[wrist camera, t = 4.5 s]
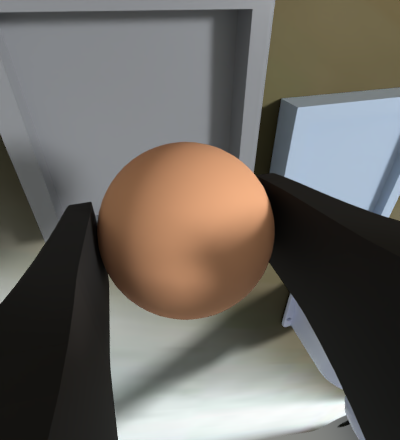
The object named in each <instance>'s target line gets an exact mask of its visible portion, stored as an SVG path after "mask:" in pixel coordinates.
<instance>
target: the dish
mask: <svg viewBox="0 0 400 440" xmlns="http://www.w3.org/2000/svg"><path fill="white" fill-rule="evenodd" d="M270 173H275V174H278V175H281V176H284V177H286V178H289V179H291V180H294V181H296V182H299V183H301V184H303V185H306V186H308V187H310V188H313V189H315V190H317V191H320V192H322V193H324V194H327V195H329V196H331V197H334V198H336V199H339V200H341V201H344V202H346V203H349V204H351V205H354V206H357V207H359V208H362V209H365V210H367V211H370V212H373V213H376V214H379V215H382V216H385V217H388V218H389V216H390V214H391V212H392V210H393V208H394V205H395V203H396V201H397V199H398V197H399V195H400V87H399V88H389V89H378V90H367V91H357V92H346V93H335V94H325V95H314V96H303V97H293V98H282V99H281V104H280V110H279V117H278V123H277V129H276V135H275V142H274V148H273V154H272V160H271V167H270Z"/></svg>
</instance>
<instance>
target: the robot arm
mask: <svg viewBox="0 0 400 440" xmlns="http://www.w3.org/2000/svg"><path fill="white" fill-rule="evenodd" d="M255 176H256V177H257V178H258V180H259V181H260V183H261V184H262V186H263V187H264V189H265V192H266V194H267V196H268V198H269V201H270V204H271V208H272V212H273V216H274V226H275V237H274V245H273V250H272V254H271V258H270V260H269V263H270V264H271V266H272V267H273V269H274V270H275V271H276V273H277V274H278V276H279V277H280V279H281V280H282V282H283V283H284V284H285V286H286V287H287V289H288V290H289V292H290V296H289V299H288V303H287V306H286V310H285V313H284V317H283V320H282V325H283V327H288V326H292V328H293V329H294V331H295V332H296V334H297V336H298V337H299V339H300V340H301V342H302V344H303V345H304V347H305V348H306V350H307V352H308V353H309V355H310V357H311V358H312V360H313V361H314V363H315V365H316V366H317V368H318V369H319V371H320V372H321V374H322V375H323V376H324V377H325V378H326V379H327V380H328V381H329V382H331V383H332V384H334V385H335V386H337V387H339V388H341V389H343V390H344V393H345V395H346V396H345V412H346V415H347V418H348V420H349V422H350V424H351V426H352V428H353V430H354V432H355V433H356V435H357V437H358V439H359V440H400V221H398V220H394V219H391V218H388V217H385V216H382V215H379V214H376V213H373V212H370V211H367V210H365V209H362V208H359V207H357V206H354V205H351V204H349V203H346V202H344V201H341V200H339V199H336V198H334V197H331V196H329V195H327V194H324V193H322V192H320V191H317V190H315V189H313V188H310V187H308V186H306V185H303V184H301V183H299V182H296V181H294V180H291V179H289V178H286V177H284V176H281V175H278V174H275V173H268V174H262V175H255ZM0 440H118V436H117V427H116V418H115V409H114V400H113V390H112V381H111V371H110V330H109V279H108V273H107V271H106V269H105V266H104V264H103V261H102V259H101V256H100V251H99V247H98V238H97V221H96V217H95V213H94V209H93V206H92V202H86V203H79V204H73V205H69V206H68V207H67V208H66V209H65V211H64V213H63V215H62V216H61V218H60V220H59V222H58V223H57V225H56V227H55V229H54V230H53V232H52V233H51V235H50V237H49V238H48V240H47V241H46V243H45V245H44V246H43V248H42V249H41V251H40V252H39V254H38V255H37V257H36V258H35V260H34V261H33V263H32V264H31V265H30V267H29V268H28V269H27V271H26V272H25V273H24V275H23V276H22V277H21V279H20V280H19V281H18V283H17V284H16V286H15V287H14V288H13V289H12V291H11V292H10V293H9V294H8V295H7V297H6V298H5V299H4V300H3V302H2V303H1V304H0Z"/></svg>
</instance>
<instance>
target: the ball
mask: <svg viewBox="0 0 400 440" xmlns="http://www.w3.org/2000/svg"><path fill="white" fill-rule="evenodd" d="M274 237H275V226H274V216H273V212H272V208H271V204H270V201H269V198H268V196H267V194H266V192H265V189H264V187H263V186H262V184H261V183H260V181H259V180H258V178H257V177H256V176H255V174H254V173H253V172H252V171H251V170H250V169H249V168H248V167H247V166H246V165H245V164H244V163H243V162H242V161H240V160H239V159H238V158H236V157H235V156H233V155H231V154H230V153H228V152H226V151H224V150H222V149H220V148H217V147H214V146H211V145H207V144H201V143H196V142H176V143H170V144H165V145H161V146H158V147H155V148H152V149H150V150H148V151H146V152H144V153H142V154H140V155H139V156H137V157H136V158H134V159H133V160H131V161H130V162H129V163H128V164H127V165H126V166H124V167H123V169H122V170H121V171H120V172H119V173H118V174H117V175H116V177H115V178H114V180H113V181H112V183H111V184H110V185H109V187H108V189H107V191H106V193H105V195H104V197H103V200H102V203H101V207H100V210H99V215H98V222H97V238H98V247H99V251H100V256H101V259H102V261H103V264H104V266H105V269H106V271H107V273H108V274H109V276H110V278H111V279H112V281H113V282H114V284H115V285H116V286H117V288H118V289H119V290H120V291H121V292H122V293H123V294H124V295H125V296H126V297H127V298H128V299H130V300H131V301H132V302H134V303H135V304H136V305H138V306H139V307H141V308H143V309H145V310H147V311H149V312H151V313H154V314H156V315H159V316H162V317H167V318H173V319H181V320H190V319H199V318H204V317H209V316H212V315H215V314H218V313H220V312H223V311H225V310H227V309H229V308H230V307H232V306H234V305H235V304H236V303H238V302H239V301H241V300H242V299H243V298H244V297H246V296H247V295H248V294H249V293H250V292H251V291H252V289H253V288H254V287H255V286H256V284H257V283H258V282H259V280H260V279H261V277H262V276H263V274H264V272H265V270H266V268H267V265H268V263H269V260H270V258H271V254H272V250H273V245H274Z"/></svg>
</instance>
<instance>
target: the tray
mask: <svg viewBox="0 0 400 440" xmlns="http://www.w3.org/2000/svg"><path fill="white" fill-rule="evenodd" d="M274 5H275V0H0V134H1V137H2V139H3V142H4V144H5V147H6V149H7V151H8V154H9V156H10V159H11V161H12V163H13V166H14V168H15V171H16V173H17V175H18V178H19V180H20V183H21V185H22V188H23V190H24V192H25V195H26V197H27V200H28V202H29V204H30V207H31V209H32V212H33V214H34V216H35V219H36V221H37V224H38V226H39V228H40V231H41V233H42V236H43V238H44V241H45V243H46V241H47V240H48V238H49V237H50V235H51V233H52V232H53V230H54V229H55V227H56V225H57V223H58V222H59V220H60V218H61V216H62V215H63V213H64V211H65V209H66V208H67V207H68V206H69V205H73V204H79V203H86V202H92V206H93V209H94V213H95V217H96V221H97V222H98V215H99V210H100V207H101V203H102V200H103V197H104V195H105V193H106V191H107V189H108V187H109V185H110V184H111V183H112V181H113V180H114V178H115V177H116V175H117V174H118V173H119V172H120V171H121V170H122V169H123V167H124V166H126V165H127V164H128V163H129V162H130V161H131V160H133V159H134V158H136V157H137V156H139V155H140V154H142V153H144V152H146V151H148V150H150V149H152V148H155V147H158V146H161V145H165V144H170V143H176V142H196V143H201V144H207V145H211V146H214V147H217V148H220V149H222V150H224V151H226V152H228V153H230V154H231V155H233V156H235V157H236V158H238V159H239V160H240V161H242V162H243V163H244V164H245V165H246V166H247V167H248V168H249V169H250V170H251V171H252V172H253V173H254V166H255V158H256V150H257V142H258V134H259V126H260V118H261V110H262V102H263V94H264V86H265V78H266V70H267V62H268V54H269V46H270V37H271V29H272V21H273V13H274Z"/></svg>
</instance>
